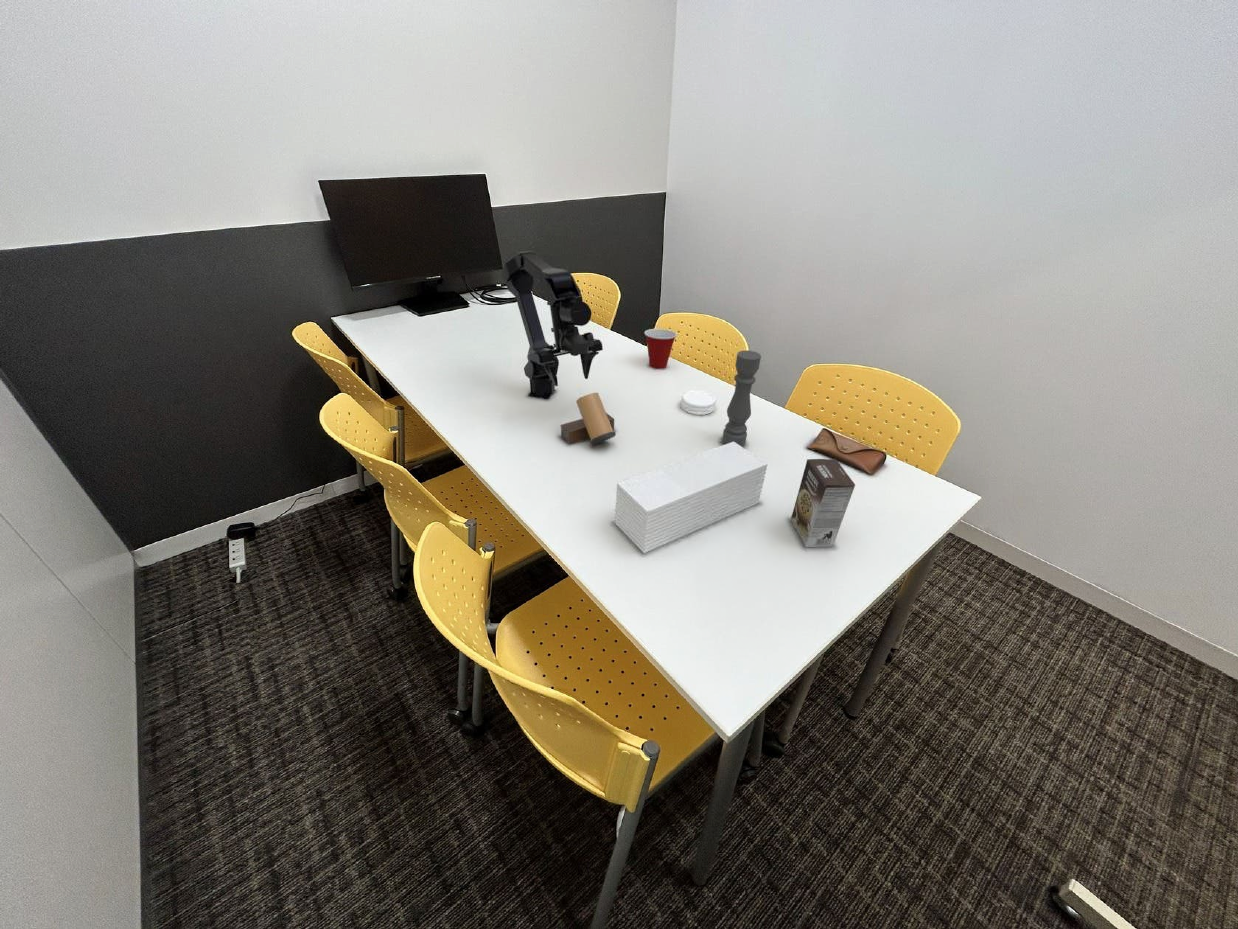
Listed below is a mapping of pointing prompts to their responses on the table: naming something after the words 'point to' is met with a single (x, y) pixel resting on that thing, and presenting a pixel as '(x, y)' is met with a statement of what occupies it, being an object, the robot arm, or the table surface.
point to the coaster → (698, 402)
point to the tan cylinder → (595, 418)
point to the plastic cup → (659, 346)
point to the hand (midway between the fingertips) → (571, 382)
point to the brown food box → (821, 502)
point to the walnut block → (578, 430)
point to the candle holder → (741, 398)
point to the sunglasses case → (848, 451)
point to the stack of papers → (688, 495)
